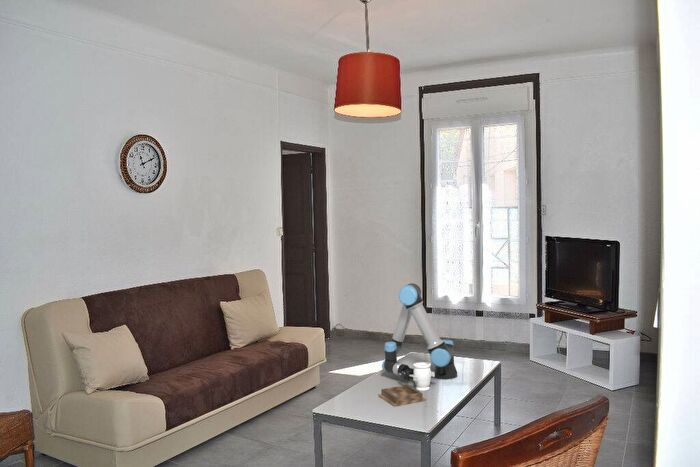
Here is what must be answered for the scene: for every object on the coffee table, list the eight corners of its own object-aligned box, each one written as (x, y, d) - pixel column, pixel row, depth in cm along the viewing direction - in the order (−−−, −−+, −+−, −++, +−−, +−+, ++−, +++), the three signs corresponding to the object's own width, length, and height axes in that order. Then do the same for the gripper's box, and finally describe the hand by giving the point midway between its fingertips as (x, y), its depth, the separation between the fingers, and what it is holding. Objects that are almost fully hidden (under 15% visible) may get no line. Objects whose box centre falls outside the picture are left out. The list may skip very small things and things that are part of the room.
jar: (429, 392, 320) (428, 367, 320) (412, 390, 324) (411, 365, 324) (433, 386, 330) (432, 362, 330) (416, 385, 334) (415, 361, 334)
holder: (408, 390, 324) (408, 383, 324) (426, 400, 306) (425, 393, 306) (378, 396, 317) (378, 389, 317) (394, 406, 298) (393, 399, 298)
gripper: (416, 371, 349) (440, 378, 332) (386, 380, 334) (411, 387, 317) (415, 360, 349) (440, 366, 332) (386, 368, 334) (410, 374, 317)
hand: (426, 376), depth 324 cm, fingers open, 13 cm apart
